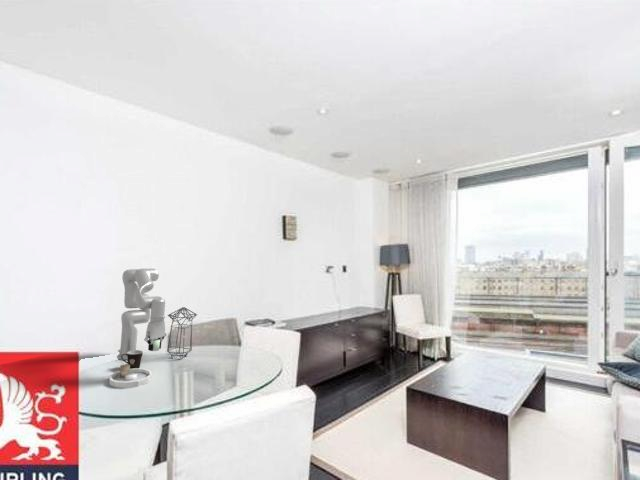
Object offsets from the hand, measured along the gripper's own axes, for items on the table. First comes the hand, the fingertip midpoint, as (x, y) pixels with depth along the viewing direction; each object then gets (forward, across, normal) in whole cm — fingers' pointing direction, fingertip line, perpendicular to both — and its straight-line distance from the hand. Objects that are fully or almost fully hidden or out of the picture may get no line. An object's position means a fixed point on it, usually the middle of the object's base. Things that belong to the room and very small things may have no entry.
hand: (154, 349), depth 205 cm
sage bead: (+1, 0, 0) cm, 1 cm away
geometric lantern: (+16, -33, -14) cm, 39 cm away
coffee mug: (+16, -1, -20) cm, 25 cm away
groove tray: (+16, +12, -3) cm, 20 cm away
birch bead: (+15, +12, -9) cm, 21 cm away
